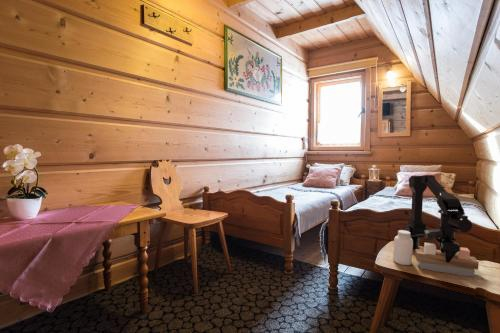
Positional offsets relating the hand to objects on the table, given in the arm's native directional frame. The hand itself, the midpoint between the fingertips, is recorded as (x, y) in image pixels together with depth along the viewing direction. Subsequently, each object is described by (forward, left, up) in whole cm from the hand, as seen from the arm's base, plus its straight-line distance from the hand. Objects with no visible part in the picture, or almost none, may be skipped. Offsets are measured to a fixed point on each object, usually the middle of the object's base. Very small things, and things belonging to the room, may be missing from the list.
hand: (445, 258), depth 128 cm
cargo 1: (0, -6, +2) cm, 6 cm away
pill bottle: (0, -17, -5) cm, 18 cm away
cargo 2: (0, +6, +2) cm, 7 cm away
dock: (0, 0, -5) cm, 5 cm away
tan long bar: (0, 0, -2) cm, 2 cm away
